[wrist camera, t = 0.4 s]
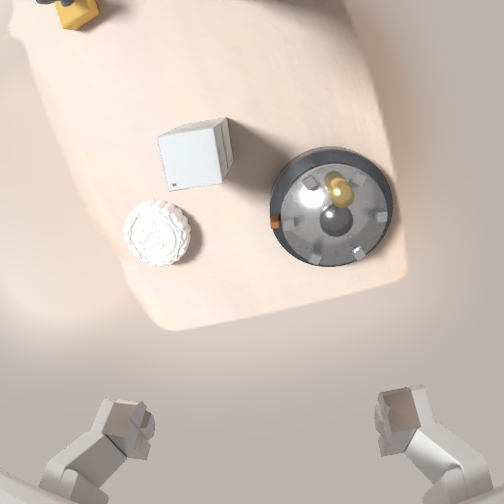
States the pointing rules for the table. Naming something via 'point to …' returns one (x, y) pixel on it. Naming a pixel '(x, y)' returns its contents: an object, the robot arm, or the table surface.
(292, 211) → the studded round base
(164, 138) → the supplement box
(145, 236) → the mooncake
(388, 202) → the grey round platform
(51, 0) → the rubber stamp
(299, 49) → the table surface
